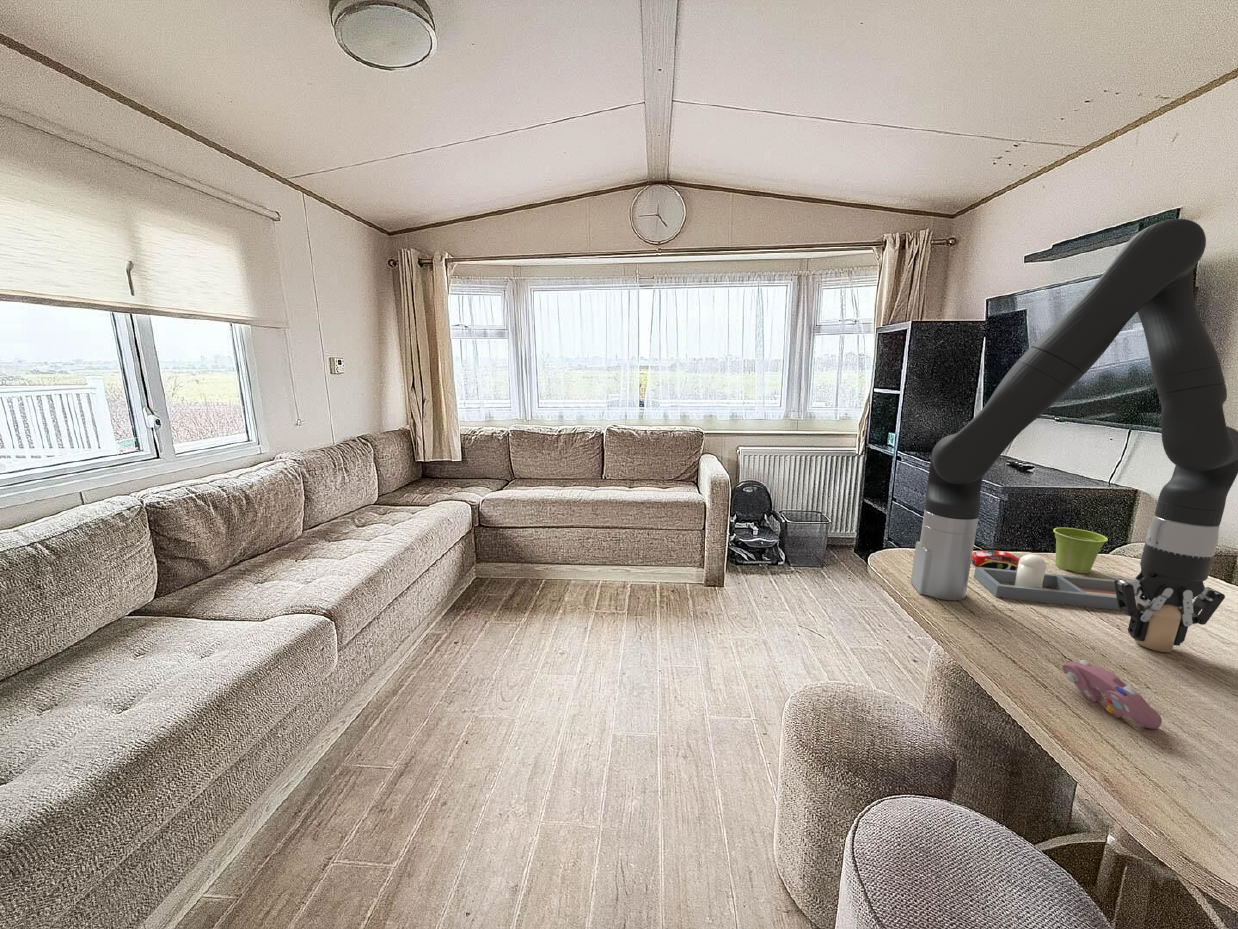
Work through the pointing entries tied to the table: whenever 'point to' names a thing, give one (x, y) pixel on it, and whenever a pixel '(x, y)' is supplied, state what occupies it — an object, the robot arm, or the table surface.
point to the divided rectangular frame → (1068, 592)
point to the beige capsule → (1162, 629)
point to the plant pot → (1077, 549)
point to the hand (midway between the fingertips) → (1154, 640)
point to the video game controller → (1111, 693)
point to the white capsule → (1030, 571)
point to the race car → (995, 560)
